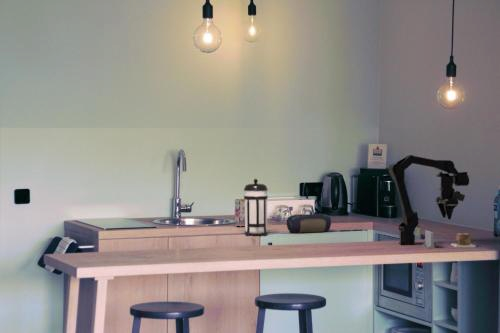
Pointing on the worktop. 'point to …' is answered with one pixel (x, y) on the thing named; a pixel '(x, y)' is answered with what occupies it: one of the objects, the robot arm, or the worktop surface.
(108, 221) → the worktop surface
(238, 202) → the candy bar box
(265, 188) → the coffee press
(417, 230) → the beverage carton
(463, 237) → the letter cube
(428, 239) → the screen
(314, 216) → the portable speaker
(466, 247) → the coaster
